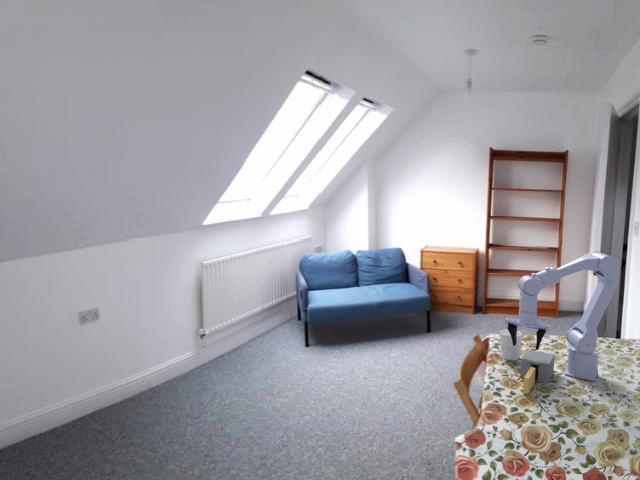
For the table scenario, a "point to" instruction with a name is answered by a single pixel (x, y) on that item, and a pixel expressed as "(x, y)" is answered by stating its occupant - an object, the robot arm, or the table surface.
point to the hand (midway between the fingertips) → (525, 346)
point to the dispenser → (538, 364)
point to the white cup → (509, 345)
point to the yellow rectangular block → (529, 380)
